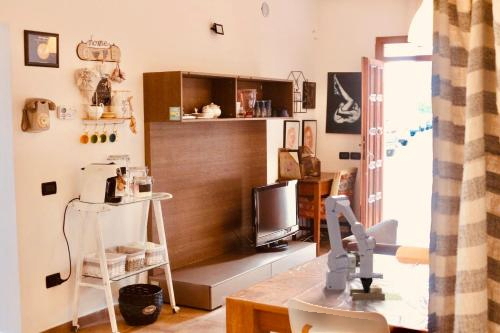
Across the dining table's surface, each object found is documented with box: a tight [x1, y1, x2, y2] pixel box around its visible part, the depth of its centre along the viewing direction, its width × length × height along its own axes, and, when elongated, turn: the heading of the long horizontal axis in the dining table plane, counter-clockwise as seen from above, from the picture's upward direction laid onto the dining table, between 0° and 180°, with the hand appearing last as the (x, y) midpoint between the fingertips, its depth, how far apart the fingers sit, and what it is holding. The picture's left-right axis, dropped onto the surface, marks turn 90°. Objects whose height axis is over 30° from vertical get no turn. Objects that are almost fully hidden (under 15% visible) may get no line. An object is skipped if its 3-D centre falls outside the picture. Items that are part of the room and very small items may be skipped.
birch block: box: [368, 284, 383, 293], centre depth 271 cm, size 5×5×4 cm
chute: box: [349, 288, 404, 301], centre depth 271 cm, size 22×9×3 cm, turn 89°
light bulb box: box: [336, 254, 357, 278], centre depth 309 cm, size 11×7×11 cm, turn 92°
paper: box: [343, 247, 360, 264], centre depth 339 cm, size 25×16×8 cm, turn 52°
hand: (365, 294), depth 271 cm, fingers closed
